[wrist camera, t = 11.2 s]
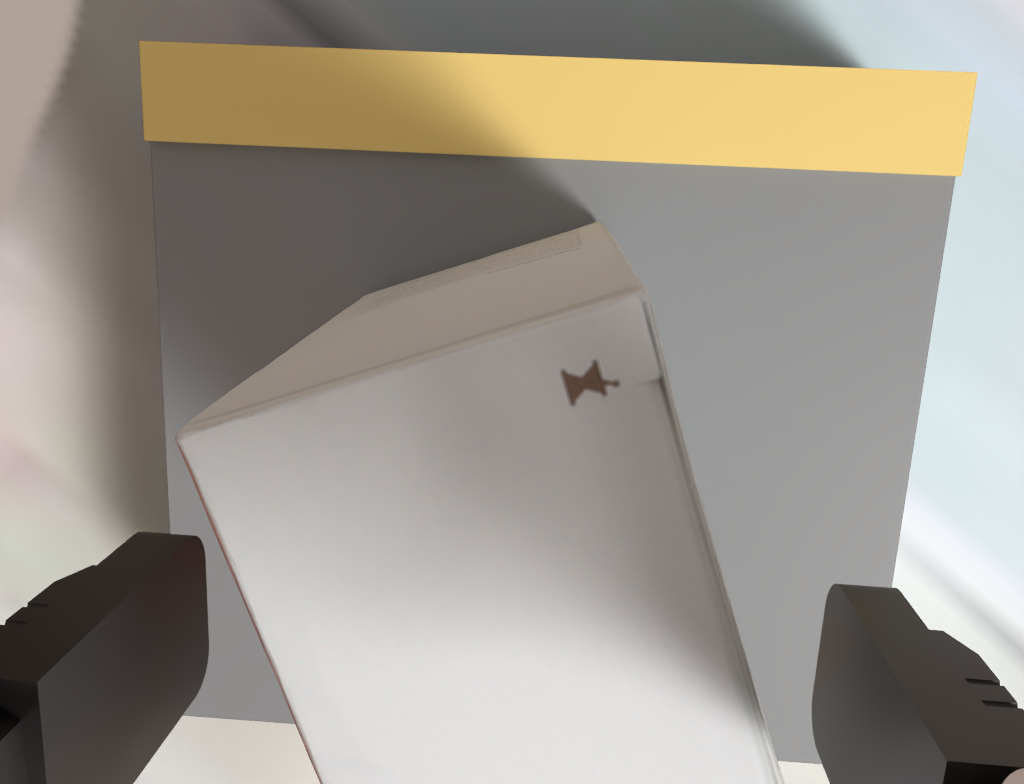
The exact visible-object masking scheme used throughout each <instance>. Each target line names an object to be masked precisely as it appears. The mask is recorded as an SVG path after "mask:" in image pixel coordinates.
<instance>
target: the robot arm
mask: <svg viewBox="0 0 1024 784" xmlns="http://www.w3.org/2000/svg"><path fill="white" fill-rule="evenodd" d="M208 657H209V630H208V605H207V580H206V558H205V550H204V546H203V543H202V541H201V539H200V538H199V537H198V536H194V535H180V534H166V533H152V532H138V533H136V534H134V535H133V536H132V537H131V538H129V539H128V540H127V541H126V542H125V543H123V544H122V545H121V546H120V547H119V548H117V549H116V550H115V551H114V552H113V553H111V554H110V555H109V556H108V557H106V558H105V559H104V560H103V561H102V562H100V563H99V564H98V565H97V566H96V565H92V566H90V567H87V568H85V569H83V570H81V571H78V572H76V573H74V574H71V575H69V576H67V577H65V578H62V579H60V580H58V581H55V582H54V583H52V584H51V585H50V586H49V587H47V588H46V589H45V590H44V591H42V592H41V593H40V594H38V595H37V596H36V597H35V598H33V599H32V600H31V601H30V602H28V606H27V607H22V608H21V609H20V610H18V611H17V612H16V613H15V614H13V615H12V616H11V617H9V618H8V619H7V620H6V623H5V625H0V784H133V783H134V782H135V780H136V779H137V778H138V776H139V775H140V773H141V772H142V771H143V769H144V768H145V766H146V765H147V764H148V762H149V761H150V760H151V758H152V757H153V755H154V754H155V753H156V751H157V750H158V749H159V747H160V746H161V744H162V743H163V742H164V740H165V739H166V737H167V736H168V735H169V733H170V732H171V731H172V729H173V728H174V726H175V725H176V724H177V722H178V721H179V720H180V718H181V717H182V715H183V714H184V713H185V711H186V710H187V708H188V707H189V706H190V704H191V703H192V702H193V700H194V699H195V697H196V696H197V694H198V692H199V690H200V688H201V686H202V683H203V680H204V677H205V673H206V669H207V664H208ZM812 729H813V736H814V741H815V745H816V749H817V752H818V754H819V757H820V759H821V762H822V764H823V767H824V769H825V772H826V774H827V777H828V779H829V782H830V784H1024V710H1023V709H1019V708H1018V707H1017V702H1016V701H1015V699H1014V698H1013V697H1012V696H1011V694H1010V693H1009V692H1008V691H1007V689H1006V688H1005V687H1004V686H1000V681H999V679H998V678H997V677H996V676H995V674H994V673H993V672H992V671H991V670H990V668H989V667H988V666H987V665H986V663H985V662H984V661H983V660H982V658H981V657H980V656H979V655H978V654H977V653H975V652H974V651H972V650H971V649H969V648H968V647H966V646H965V645H963V644H962V643H960V642H959V641H957V640H956V639H954V638H953V637H951V636H950V635H948V634H947V633H945V632H944V631H938V630H929V629H928V628H927V627H926V625H925V624H924V623H923V621H922V620H921V619H920V617H919V616H918V615H917V613H916V612H915V610H914V609H913V608H912V606H911V605H910V604H909V602H908V601H907V600H906V598H905V597H904V596H903V594H902V593H901V592H900V591H899V590H898V589H897V588H889V587H875V586H862V585H848V584H833V585H832V586H831V588H830V590H829V592H828V595H827V599H826V604H825V610H824V617H823V624H822V631H821V638H820V645H819V653H818V660H817V667H816V674H815V681H814V688H813V696H812Z"/></svg>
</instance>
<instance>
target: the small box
mask: <svg viewBox="0 0 1024 784" xmlns="http://www.w3.org/2000/svg"><path fill="white" fill-rule="evenodd" d="M175 441H176V443H177V445H178V447H179V450H180V452H181V454H182V456H183V459H184V461H185V463H186V465H187V468H188V470H189V472H190V475H191V477H192V480H193V482H194V484H195V487H196V489H197V492H198V494H199V497H200V499H201V502H202V504H203V506H204V509H205V511H206V514H207V516H208V519H209V521H210V523H211V526H212V528H213V531H214V533H215V535H216V538H217V540H218V543H219V545H220V547H221V550H222V552H223V554H224V557H225V559H226V561H227V564H228V566H229V568H230V571H231V573H232V576H233V578H234V580H235V583H236V585H237V587H238V590H239V592H240V594H241V597H242V599H243V601H244V604H245V606H246V608H247V611H248V613H249V615H250V618H251V620H252V623H253V625H254V628H255V630H256V632H257V635H258V637H259V639H260V642H261V644H262V646H263V649H264V651H265V653H266V656H267V658H268V660H269V662H270V665H271V667H272V669H273V671H274V674H275V676H276V678H277V681H278V683H279V685H280V688H281V690H282V693H283V695H284V698H285V700H286V703H287V705H288V707H289V710H290V712H291V715H292V717H293V720H294V722H295V724H296V727H297V729H298V731H299V734H300V736H301V738H302V741H303V743H304V746H305V748H306V751H307V753H308V756H309V758H310V760H311V763H312V765H313V767H314V769H315V772H316V774H317V776H318V779H319V781H320V783H321V784H785V783H784V780H783V777H782V774H781V771H780V768H779V765H778V761H777V758H776V755H775V752H774V749H773V746H772V742H771V739H770V736H769V732H768V729H767V726H766V722H765V719H764V716H763V712H762V709H761V706H760V702H759V699H758V696H757V692H756V689H755V686H754V682H753V679H752V675H751V672H750V668H749V665H748V661H747V658H746V654H745V651H744V647H743V644H742V640H741V637H740V633H739V630H738V626H737V623H736V619H735V616H734V612H733V609H732V605H731V602H730V598H729V595H728V591H727V588H726V584H725V581H724V577H723V574H722V570H721V567H720V563H719V560H718V556H717V553H716V549H715V546H714V542H713V539H712V535H711V532H710V528H709V525H708V521H707V518H706V514H705V511H704V507H703V504H702V500H701V497H700V493H699V489H698V486H697V482H696V479H695V475H694V472H693V468H692V464H691V461H690V457H689V454H688V450H687V447H686V443H685V439H684V436H683V432H682V428H681V424H680V420H679V416H678V412H677V408H676V404H675V400H674V396H673V392H672V387H671V383H670V379H669V374H668V370H667V366H666V362H665V358H664V354H663V349H662V345H661V341H660V337H659V333H658V329H657V325H656V320H655V314H654V309H653V304H652V301H651V298H650V294H649V292H648V291H647V289H646V288H645V287H644V286H643V284H642V283H641V281H640V279H639V278H638V276H637V275H636V273H635V271H634V270H633V269H632V267H631V266H630V264H629V262H628V260H627V258H626V256H625V254H624V253H623V251H622V249H621V248H620V246H619V245H618V243H617V242H616V240H615V239H614V238H613V236H612V234H611V233H610V231H609V230H608V229H607V228H606V226H605V225H604V224H603V223H602V222H595V223H592V224H589V225H586V226H583V227H580V228H577V229H574V230H571V231H568V232H564V233H561V234H558V235H555V236H551V237H548V238H545V239H542V240H538V241H535V242H532V243H529V244H525V245H522V246H519V247H516V248H512V249H509V250H506V251H503V252H500V253H497V254H493V255H490V256H487V257H484V258H481V259H478V260H475V261H471V262H468V263H465V264H462V265H459V266H456V267H453V268H449V269H446V270H443V271H440V272H436V273H433V274H430V275H427V276H423V277H420V278H417V279H414V280H411V281H407V282H404V283H401V284H398V285H395V286H391V287H388V288H385V289H382V290H379V291H376V292H373V293H370V294H367V295H365V296H363V297H362V298H361V299H360V300H358V301H357V302H355V303H354V304H352V305H351V306H350V307H348V308H346V309H345V310H343V311H342V312H341V313H339V314H338V315H337V316H335V317H334V318H332V319H331V320H330V321H328V322H327V323H325V324H324V325H322V326H321V327H320V328H319V329H317V330H316V331H314V332H313V333H311V334H310V335H308V336H307V337H306V338H304V339H303V340H301V341H300V342H299V343H297V344H296V345H294V346H293V347H292V348H290V349H289V350H288V351H287V352H285V353H284V354H282V355H281V356H279V357H278V358H276V359H275V360H274V361H272V362H271V363H270V364H268V365H267V366H266V367H264V368H263V369H261V370H260V371H258V372H256V373H255V374H253V375H252V376H250V377H249V378H248V379H246V380H245V381H244V382H242V383H241V384H239V385H238V386H237V387H235V388H234V389H232V390H231V391H230V392H228V393H227V394H226V395H224V396H223V397H221V398H220V399H219V400H217V401H216V402H214V403H213V404H211V405H210V406H209V407H207V408H206V409H205V410H203V411H202V412H201V413H200V414H198V415H197V416H196V417H194V418H193V419H192V420H190V421H189V422H188V423H187V424H186V425H185V426H184V427H183V428H181V429H180V430H179V432H178V433H177V434H176V438H175Z"/></svg>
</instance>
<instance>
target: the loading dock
mask: <svg viewBox="0 0 1024 784" xmlns="http://www.w3.org/2000/svg"><path fill="white" fill-rule="evenodd" d="M139 50H140V69H141V88H142V108H143V127H144V141H151V161H152V181H153V201H154V221H155V241H156V261H157V281H158V301H159V321H160V340H161V360H162V380H163V400H164V420H165V440H166V460H167V480H168V500H169V520H170V534H180V535H194V536H198V537H199V538H200V539H201V541H202V543H203V546H204V550H205V558H206V580H207V605H208V630H209V657H208V664H207V669H206V673H205V677H204V680H203V683H202V686H201V688H200V690H199V692H198V694H197V696H196V697H195V699H194V700H193V702H192V703H191V704H190V706H189V707H188V708H187V710H186V711H185V713H184V714H183V715H184V716H197V717H210V718H223V719H236V720H249V721H262V722H276V723H289V724H295V722H294V720H293V717H292V715H291V712H290V710H289V707H288V705H287V703H286V700H285V698H284V695H283V693H282V690H281V688H280V685H279V683H278V681H277V678H276V676H275V674H274V671H273V669H272V667H271V665H270V662H269V660H268V658H267V656H266V653H265V651H264V649H263V646H262V644H261V642H260V639H259V637H258V635H257V632H256V630H255V628H254V625H253V623H252V620H251V618H250V615H249V613H248V611H247V608H246V606H245V604H244V601H243V599H242V597H241V594H240V592H239V590H238V587H237V585H236V583H235V580H234V578H233V576H232V573H231V571H230V568H229V566H228V564H227V561H226V559H225V557H224V554H223V552H222V550H221V547H220V545H219V543H218V540H217V538H216V535H215V533H214V531H213V528H212V526H211V523H210V521H209V519H208V516H207V514H206V511H205V509H204V506H203V504H202V502H201V499H200V497H199V494H198V492H197V489H196V487H195V484H194V482H193V480H192V477H191V475H190V472H189V470H188V468H187V465H186V463H185V461H184V459H183V456H182V454H181V452H180V450H179V447H178V445H177V443H176V441H175V438H176V434H177V433H178V432H179V430H180V429H181V428H183V427H184V426H185V425H186V424H187V423H188V422H189V421H190V420H192V419H193V418H194V417H196V416H197V415H198V414H200V413H201V412H202V411H203V410H205V409H206V408H207V407H209V406H210V405H211V404H213V403H214V402H216V401H217V400H219V399H220V398H221V397H223V396H224V395H226V394H227V393H228V392H230V391H231V390H232V389H234V388H235V387H237V386H238V385H239V384H241V383H242V382H244V381H245V380H246V379H248V378H249V377H250V376H252V375H253V374H255V373H256V372H258V371H260V370H261V369H263V368H264V367H266V366H267V365H268V364H270V363H271V362H272V361H274V360H275V359H276V358H278V357H279V356H281V355H282V354H284V353H285V352H287V351H288V350H289V349H290V348H292V347H293V346H294V345H296V344H297V343H299V342H300V341H301V340H303V339H304V338H306V337H307V336H308V335H310V334H311V333H313V332H314V331H316V330H317V329H319V328H320V327H321V326H322V325H324V324H325V323H327V322H328V321H330V320H331V319H332V318H334V317H335V316H337V315H338V314H339V313H341V312H342V311H343V310H345V309H346V308H348V307H350V306H351V305H352V304H354V303H355V302H357V301H358V300H360V299H361V298H362V297H363V296H365V295H367V294H370V293H373V292H376V291H379V290H382V289H385V288H388V287H391V286H395V285H398V284H401V283H404V282H407V281H411V280H414V279H417V278H420V277H423V276H427V275H430V274H433V273H436V272H440V271H443V270H446V269H449V268H453V267H456V266H459V265H462V264H465V263H468V262H471V261H475V260H478V259H481V258H484V257H487V256H490V255H493V254H497V253H500V252H503V251H506V250H509V249H512V248H516V247H519V246H522V245H525V244H529V243H532V242H535V241H538V240H542V239H545V238H548V237H551V236H555V235H558V234H561V233H564V232H568V231H571V230H574V229H577V228H580V227H583V226H586V225H589V224H592V223H595V222H602V223H603V224H604V225H605V226H606V228H607V229H608V230H609V231H610V233H611V234H612V236H613V238H614V239H615V240H616V242H617V243H618V245H619V246H620V248H621V249H622V251H623V253H624V254H625V256H626V258H627V260H628V262H629V264H630V266H631V267H632V269H633V270H634V271H635V273H636V275H637V276H638V278H639V279H640V281H641V283H642V284H643V286H644V287H645V288H646V289H647V291H648V292H649V294H650V298H651V301H652V304H653V309H654V314H655V320H656V325H657V329H658V333H659V337H660V341H661V345H662V349H663V354H664V358H665V362H666V366H667V370H668V374H669V379H670V383H671V387H672V392H673V396H674V400H675V404H676V408H677V412H678V416H679V420H680V424H681V428H682V432H683V436H684V439H685V443H686V447H687V450H688V454H689V457H690V461H691V464H692V468H693V472H694V475H695V479H696V482H697V486H698V489H699V493H700V497H701V500H702V504H703V507H704V511H705V514H706V518H707V521H708V525H709V528H710V532H711V535H712V539H713V542H714V546H715V549H716V553H717V556H718V560H719V563H720V567H721V570H722V574H723V577H724V581H725V584H726V588H727V591H728V595H729V598H730V602H731V605H732V609H733V612H734V616H735V619H736V623H737V626H738V630H739V633H740V637H741V640H742V644H743V647H744V651H745V654H746V658H747V661H748V665H749V668H750V672H751V675H752V679H753V682H754V686H755V689H756V692H757V696H758V699H759V702H760V706H761V709H762V712H763V716H764V719H765V722H766V726H767V729H768V732H769V736H770V739H771V742H772V746H773V749H774V752H775V755H776V758H777V761H788V762H801V763H814V764H822V762H821V759H820V757H819V754H818V752H817V749H816V745H815V741H814V736H813V729H812V696H813V688H814V681H815V674H816V667H817V660H818V653H819V645H820V638H821V631H822V624H823V617H824V610H825V604H826V599H827V595H828V592H829V590H830V588H831V586H832V585H833V584H848V585H862V586H875V587H889V588H892V582H893V575H894V569H895V562H896V556H897V550H898V543H899V537H900V530H901V524H902V517H903V511H904V504H905V498H906V491H907V485H908V479H909V472H910V466H911V459H912V453H913V446H914V440H915V433H916V427H917V421H918V414H919V408H920V401H921V395H922V388H923V382H924V375H925V369H926V363H927V356H928V350H929V343H930V337H931V330H932V324H933V317H934V311H935V305H936V298H937V292H938V285H939V279H940V272H941V266H942V259H943V253H944V246H945V240H946V234H947V227H948V221H949V214H950V208H951V201H952V195H953V188H954V182H955V176H962V169H963V163H964V157H965V150H966V144H967V137H968V131H969V125H970V118H971V112H972V106H973V99H974V93H975V86H976V80H977V74H978V73H975V72H949V71H922V70H896V69H870V68H843V67H817V66H791V65H765V64H738V63H712V62H686V61H660V60H633V59H607V58H581V57H555V56H528V55H502V54H476V53H450V52H423V51H397V50H371V49H345V48H318V47H292V46H266V45H240V44H213V43H187V42H161V41H139Z"/></svg>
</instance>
